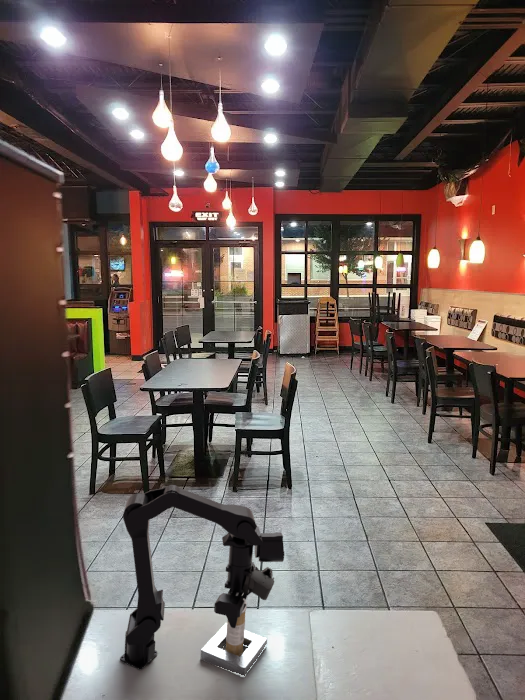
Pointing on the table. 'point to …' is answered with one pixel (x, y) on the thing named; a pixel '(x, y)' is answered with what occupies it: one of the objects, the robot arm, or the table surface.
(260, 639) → the metal collar
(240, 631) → the sprinkles bottle
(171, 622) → the table surface
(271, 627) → the table surface
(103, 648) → the table surface
